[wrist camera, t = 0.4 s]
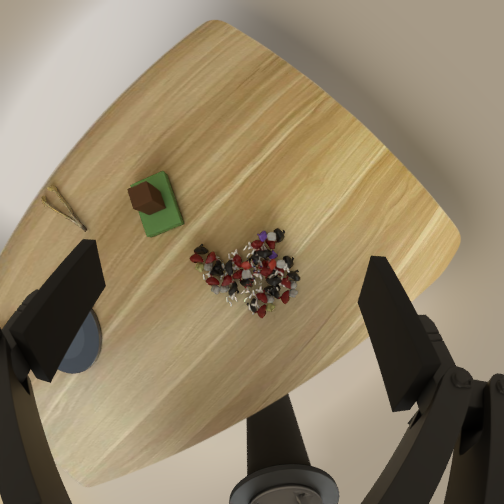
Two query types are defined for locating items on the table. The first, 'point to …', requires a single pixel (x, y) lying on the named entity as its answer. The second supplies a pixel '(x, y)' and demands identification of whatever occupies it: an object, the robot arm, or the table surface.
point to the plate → (83, 347)
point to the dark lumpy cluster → (246, 274)
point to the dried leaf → (66, 207)
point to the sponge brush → (155, 204)
